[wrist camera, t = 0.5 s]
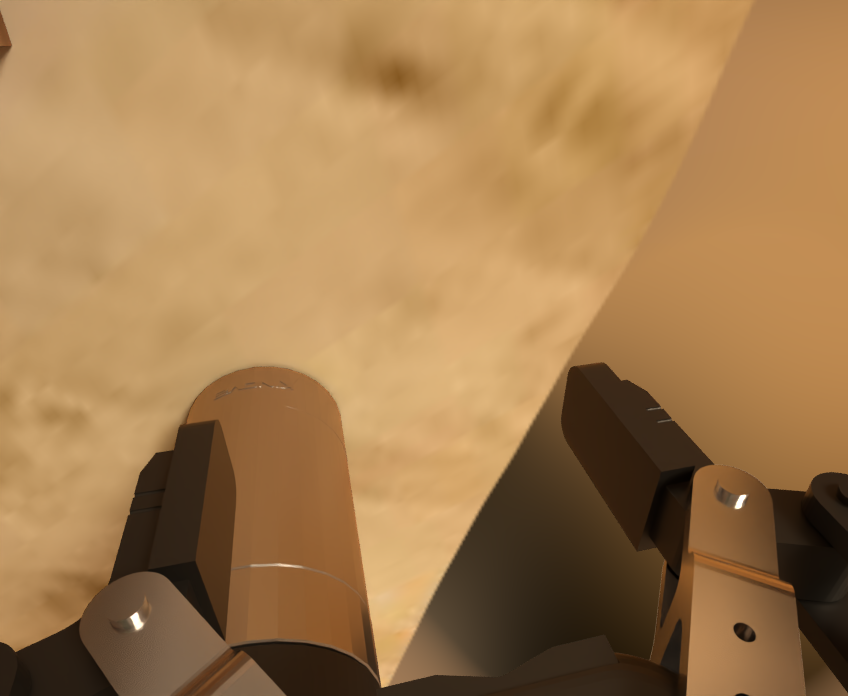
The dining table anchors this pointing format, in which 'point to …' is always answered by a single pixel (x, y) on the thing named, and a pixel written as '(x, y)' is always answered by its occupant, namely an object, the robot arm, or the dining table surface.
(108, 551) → the dining table surface
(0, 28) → the stand tall
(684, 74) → the dining table surface
